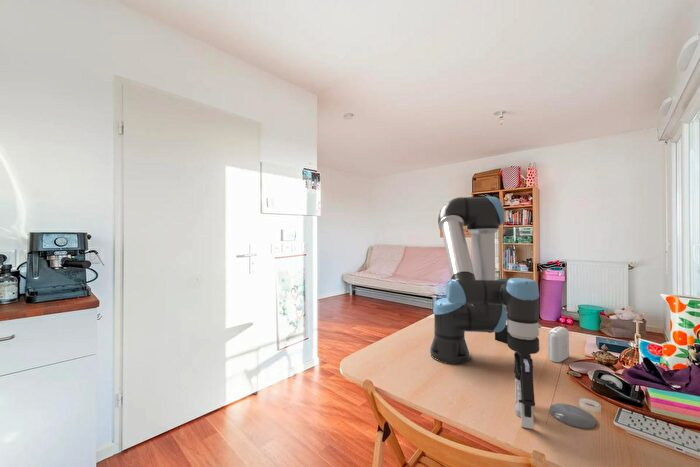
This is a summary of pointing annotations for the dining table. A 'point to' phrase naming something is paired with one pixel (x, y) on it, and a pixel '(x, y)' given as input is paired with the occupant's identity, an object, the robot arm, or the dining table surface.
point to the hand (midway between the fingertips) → (523, 414)
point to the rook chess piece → (518, 405)
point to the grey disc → (572, 416)
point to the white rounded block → (558, 344)
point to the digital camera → (502, 335)
